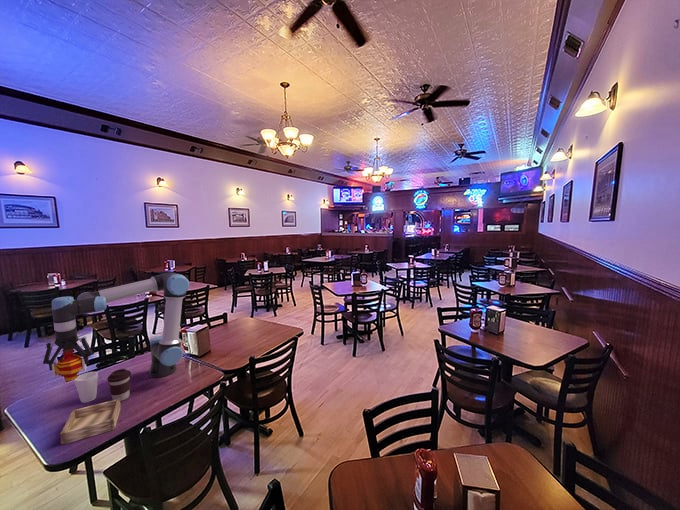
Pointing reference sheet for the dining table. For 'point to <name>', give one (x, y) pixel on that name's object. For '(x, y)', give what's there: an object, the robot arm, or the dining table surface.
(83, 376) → the foam cup
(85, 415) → the tray
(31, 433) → the dining table surface
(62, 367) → the potion bottle
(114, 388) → the coffee cup
